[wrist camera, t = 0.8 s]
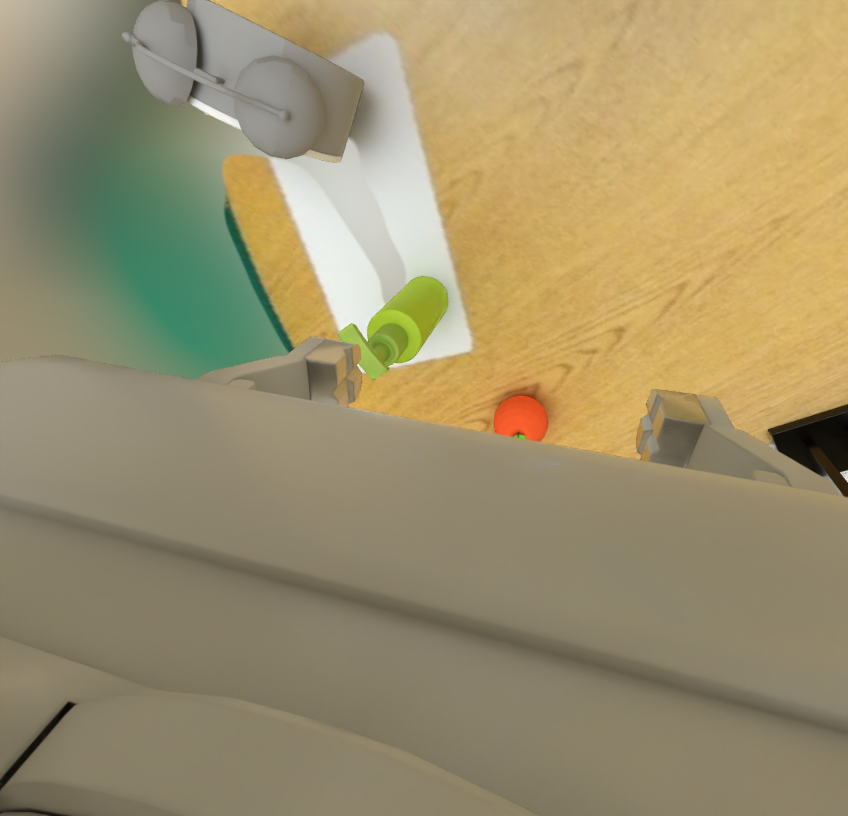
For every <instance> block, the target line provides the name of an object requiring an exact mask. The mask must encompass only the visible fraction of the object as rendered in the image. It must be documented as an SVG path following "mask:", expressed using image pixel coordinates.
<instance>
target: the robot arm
mask: <svg viewBox="0 0 848 816" xmlns="http://www.w3.org/2000/svg"><path fill="white" fill-rule="evenodd" d="M360 360H361V348H360V346H359V344H353V343H347V342H341V341H335V340H329V339H326V338H318V337H309V338H308V339H306V340H305V341H304V342H303V343H301V344H300V345H299V346H297V347H296V348H295V349H294V350H292V351H291V352H290V353H289V354H287V355H286V356H281V355H280V356H276V357H271V358H267V359H263V360H258V361H255V362H250V363H245V364H241V365H237V366H232V367H228V368H224V369H219V370H215V371H211V372H207V373H206V374H204V375H203V376H201V377H200V378H198V379H197V380H194V379H189V378H184V377H178V376H173V375H167V374H161V373H156V372H150V371H145V370H139V369H133V368H128V367H123V366H117V365H112V364H106V363H101V362H94V361H90V360H85V359H81V358H76V357H70V356H62V355H51V356H38V357H29V358H20V359H14V360H6V361H0V816H848V497H842V496H841V495H840V493H839V492H838V490H837V489H836V488H835V486H834V485H833V484H832V482H830V481H828V480H826V479H825V478H823V477H821V476H820V475H818V474H816V473H814V472H813V471H811V470H809V469H808V468H806V467H804V466H802V465H801V464H799V463H797V462H796V461H794V460H792V459H790V458H789V457H787V456H785V455H784V454H782V453H780V452H778V451H777V450H775V449H773V448H772V447H770V446H768V445H766V444H765V443H763V442H761V441H760V440H758V439H756V438H754V437H753V436H751V435H749V434H748V433H746V432H744V431H742V430H738V429H735V428H734V426H733V424H732V423H731V421H730V419H729V417H728V416H727V414H726V412H725V410H724V409H723V407H722V405H721V403H720V401H719V400H718V398H715V397H709V396H701V395H696V394H689V393H682V392H674V391H666V390H659V389H654V390H652V391H651V393H650V395H649V397H648V400H647V403H646V406H647V410H648V414H647V415H645V416H644V417H643V418H641V420H640V424H639V427H638V431H637V437H636V448H637V452H638V453H639V454H640V455H641V459H640V460H638V459H632V458H627V457H621V456H616V455H610V454H604V453H599V452H593V451H588V450H582V449H577V448H571V447H566V446H560V445H555V444H549V443H544V442H538V441H532V440H527V439H521V438H516V437H510V436H505V435H499V434H494V433H488V432H483V431H477V430H471V429H466V428H460V427H455V426H449V425H444V424H438V423H433V422H427V421H422V420H416V419H411V418H405V417H399V416H394V415H388V414H383V413H377V412H372V411H366V410H361V409H355V408H350V407H348V404H350V403H352V402H355V400H356V399H357V398H358V396H359V393H360V390H361V384H362V372H361V371H360V369H359V368H358V366H357V364H358V363H359V362H360Z"/></svg>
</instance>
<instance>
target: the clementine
mask: <svg viewBox="0 0 848 816" xmlns="http://www.w3.org/2000/svg"><path fill="white" fill-rule="evenodd" d="M547 428H548V418H547V413H546V411H545V409H544V407H543V406H542V405H541V404H540V403H539V402H538V401H536V400H535V399H533V398H531V397H528V396H521V395H520V396H514V397H511V398H508V399H506V400H505V401H504V402H502V403H501V404H500V406H499V407H498V408H497V410H496V413H495V415H494V429H495V432H496V434H499V435H505V436H510V437H516V438H521V439H527V440H532V441H538V442H540V441H541V440H542V439H543V437H544V436H545V433H546V431H547Z"/></svg>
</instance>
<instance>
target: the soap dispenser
mask: <svg viewBox="0 0 848 816" xmlns="http://www.w3.org/2000/svg"><path fill="white" fill-rule="evenodd" d="M447 306H448V296H447V292H446V290H445V288H444V287H443V285H442V284H441V283H440V282H438V281H437V280H435V279H433V278H431V277H426V276H422V277H417V278H415V279H413V280H412V281H410V282H409V283H408V284H407V285H406V286H405V287H404V288H403V289H402V290H401V291H400V292H399V293H398V294H397V295H396V296H395V297H394V298H393V299H391V300H390V301H389V302H388V303H387V304H386V305H385V306H384V307H383V308H382V309H381V310H380V311H379V312H378V313H377V314H376V315H375V316H374V317H373V318H372V319H371V321H370V322H369V325H368V329H367V337H368V342H367V341H366V340H365V338H364V337H363V336H362V334H361V333H360V331H359V330H358V328H357V326H356V325H354V324H352V323H351V324H349V325H348V326H347V327H345V328H344V329H343V330H342V331H340V332H339V333H338V336H339V337H340V339H341V341H342V342H347V343H353V344H359V346H360V348H361V360H360V362H359V363H358V364H359V365H360V366H361V368H362V369H363V370H364V371H365V372H366V373H367V374H368V375H369V376H370V378H371V379H372V380H375V379H376V378H378V377H379V376H381V375H382V374H384V373H386V372H387V371H388V370H389V367H388V366H390V365H392V364H394V363H404V362H407V361H409V360H411V359H412V358H414V357H415V356H416V354H417V353H418V352H419V350H420V349H421V347H422V346H423V344H424V343H425V341H426V340H427V338H428V337H429V335H430V334H431V332H432V331H433V329H434V328H435V326H436V325H437V323H438V322H439V321H440V319H441V318H442V316H443V315H444V313H445V311H446V309H447Z"/></svg>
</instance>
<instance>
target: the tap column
mask: <svg viewBox="0 0 848 816" xmlns="http://www.w3.org/2000/svg"><path fill="white" fill-rule="evenodd" d="M768 432H769V434H770V436H771V439H772V441H773V443H774V446H775V448H776V450H777V451H778V452H780V453H782V454H784V455H785V456H787V457H789V458H790V459H792V460H794V461H796V462H797V463H799V464H801V465H802V466H804V467H806V468H808V469H809V470H811V471H813V472H814V473H816V474H818V475H820V476H821V477H823V478H825V479H826V480H828V481H830V482H832V484H833V485H834V486H835V488H836V489H837V490H838V492H839V493H840V495H841V496H842V497H848V482H847V481H846V480H845V479H844V477H843V476H842V475H841V474H840V472H842V471H846V470H848V405H845V406H842V407H839V408H836V409H832V410H829V411H826V412H823V413H820V414H816V415H813V416H810V417H807V418H804V419H800V420H797V421H794V422H791V423H788V424H784V425H781V426H778V427H775V428H772V429H768Z"/></svg>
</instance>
